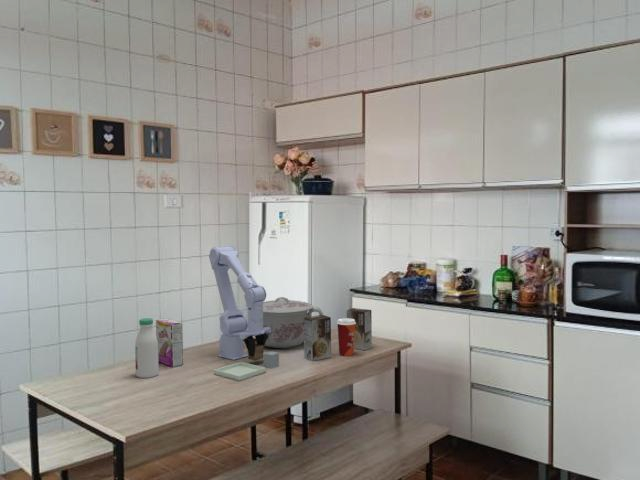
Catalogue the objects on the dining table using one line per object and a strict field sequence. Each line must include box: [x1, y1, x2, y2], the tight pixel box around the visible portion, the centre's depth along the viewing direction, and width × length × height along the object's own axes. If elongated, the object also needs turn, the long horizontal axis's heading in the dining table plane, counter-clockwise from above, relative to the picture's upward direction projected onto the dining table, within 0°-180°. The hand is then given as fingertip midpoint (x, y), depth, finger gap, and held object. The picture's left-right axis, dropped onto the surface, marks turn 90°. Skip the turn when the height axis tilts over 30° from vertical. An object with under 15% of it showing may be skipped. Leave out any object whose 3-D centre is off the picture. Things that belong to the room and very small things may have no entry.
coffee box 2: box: [346, 307, 373, 351], centre depth 238 cm, size 9×6×16 cm
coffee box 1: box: [303, 314, 332, 362], centre depth 222 cm, size 9×6×16 cm
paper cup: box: [336, 317, 356, 357], centre depth 227 cm, size 8×8×14 cm
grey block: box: [263, 350, 280, 369], centre depth 211 cm, size 4×4×5 cm
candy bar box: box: [155, 318, 184, 368], centre depth 215 cm, size 11×5×16 cm, turn 47°
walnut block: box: [247, 343, 264, 361], centre depth 214 cm, size 4×4×5 cm
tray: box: [213, 361, 267, 382], centre depth 202 cm, size 13×13×2 cm
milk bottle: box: [134, 317, 160, 379], centre depth 200 cm, size 8×8×20 cm
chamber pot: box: [263, 296, 324, 349], centre depth 243 cm, size 28×28×21 cm
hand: (255, 354), depth 214 cm, fingers closed on walnut block, 4 cm apart
